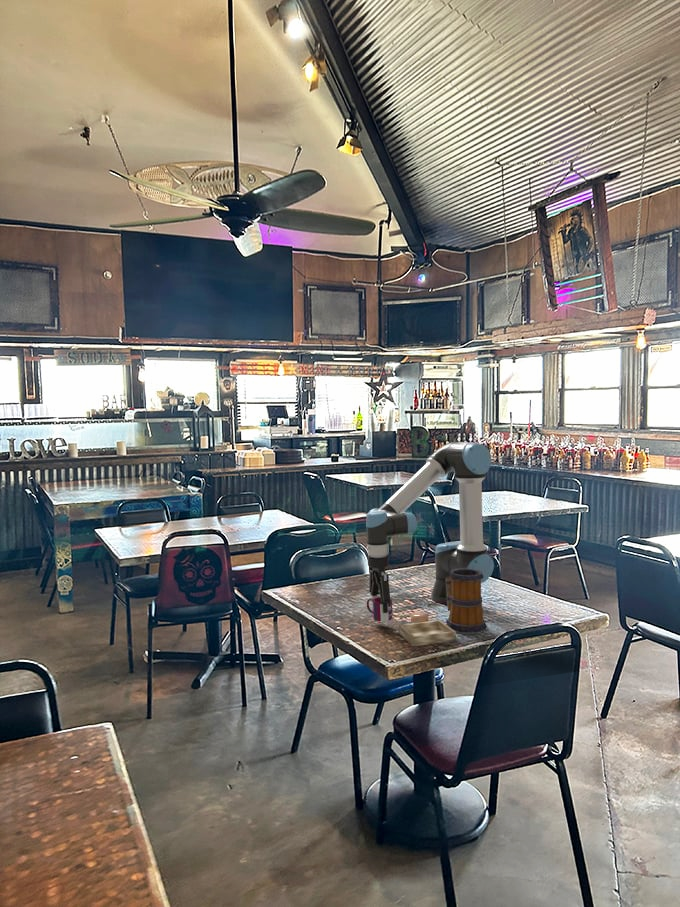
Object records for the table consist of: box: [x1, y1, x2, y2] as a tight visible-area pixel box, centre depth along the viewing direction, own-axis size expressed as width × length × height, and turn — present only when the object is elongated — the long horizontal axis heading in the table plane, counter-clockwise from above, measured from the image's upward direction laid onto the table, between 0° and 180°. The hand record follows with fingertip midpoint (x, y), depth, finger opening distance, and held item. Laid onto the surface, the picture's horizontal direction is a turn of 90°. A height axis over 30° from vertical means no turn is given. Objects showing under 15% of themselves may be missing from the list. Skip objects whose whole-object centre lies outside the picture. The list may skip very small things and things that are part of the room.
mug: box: [445, 568, 488, 635], centre depth 227 cm, size 19×14×20 cm
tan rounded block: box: [410, 611, 429, 624], centre depth 230 cm, size 6×6×4 cm
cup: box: [366, 596, 393, 622], centre depth 228 cm, size 7×10×7 cm
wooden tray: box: [398, 619, 457, 647], centre depth 216 cm, size 16×13×3 cm
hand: (380, 617), depth 227 cm, fingers closed on cup, 8 cm apart
